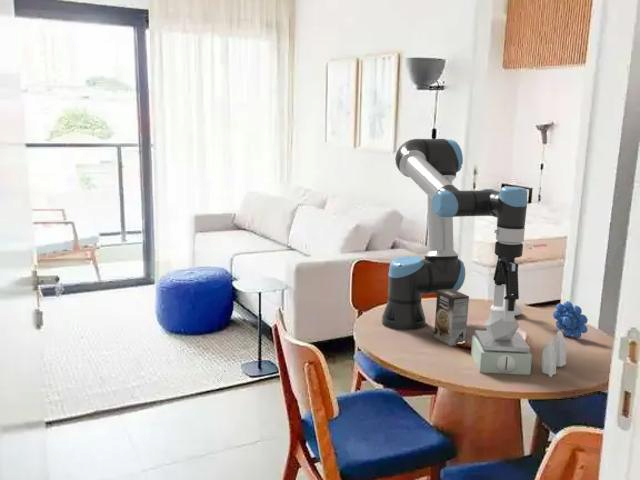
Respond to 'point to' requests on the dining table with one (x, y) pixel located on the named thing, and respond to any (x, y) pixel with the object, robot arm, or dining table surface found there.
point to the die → (500, 326)
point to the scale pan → (501, 342)
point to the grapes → (570, 319)
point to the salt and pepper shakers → (554, 355)
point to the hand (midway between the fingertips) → (503, 313)
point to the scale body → (500, 360)
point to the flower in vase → (517, 307)
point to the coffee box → (451, 316)
